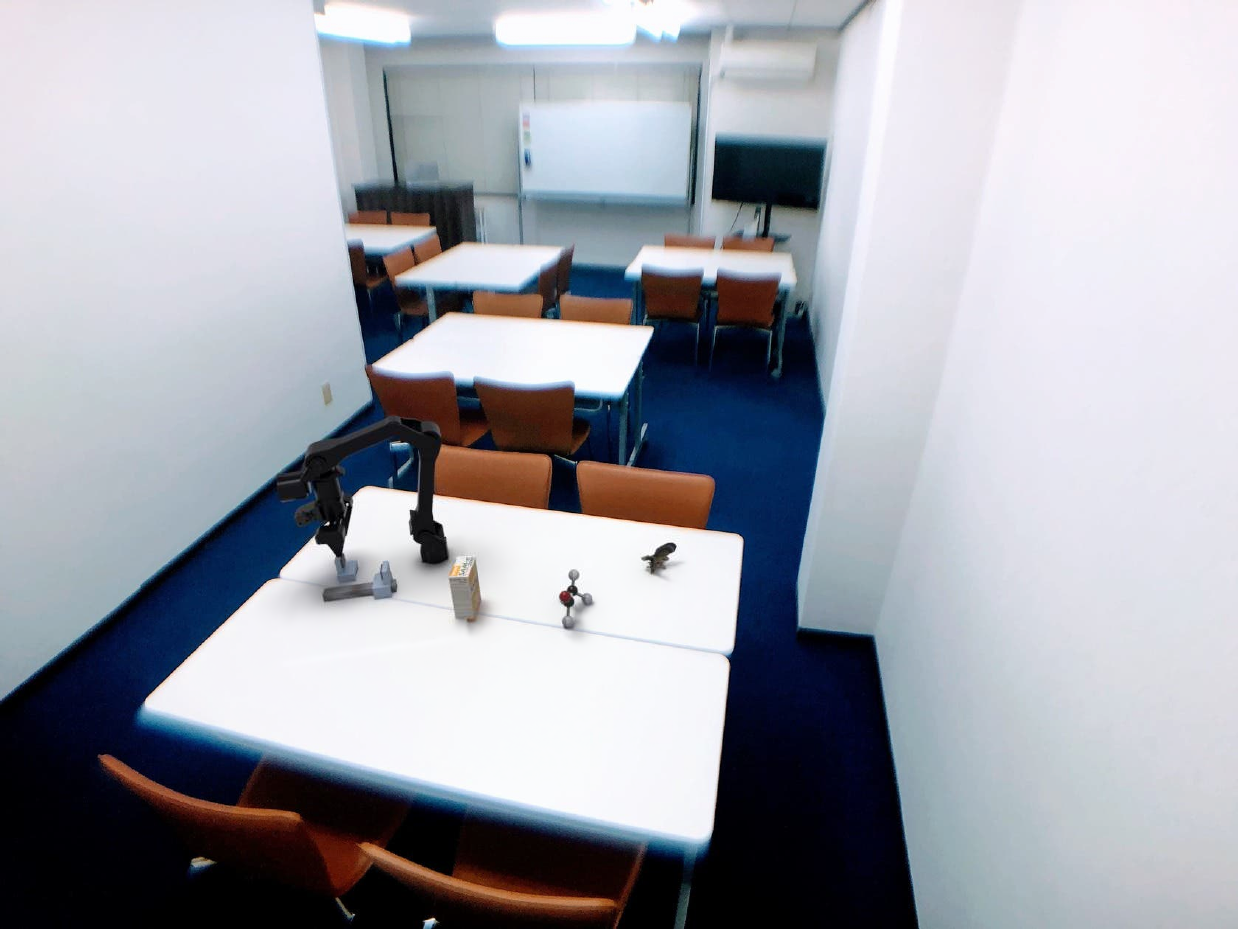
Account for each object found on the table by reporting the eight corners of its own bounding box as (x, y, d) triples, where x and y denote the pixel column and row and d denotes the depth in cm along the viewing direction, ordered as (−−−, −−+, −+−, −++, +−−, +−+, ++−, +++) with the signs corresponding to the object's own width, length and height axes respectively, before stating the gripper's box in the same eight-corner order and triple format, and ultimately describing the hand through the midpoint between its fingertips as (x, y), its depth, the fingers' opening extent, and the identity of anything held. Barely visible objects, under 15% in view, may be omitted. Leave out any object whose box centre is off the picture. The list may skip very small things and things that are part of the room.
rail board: (400, 579, 177) (398, 569, 175) (398, 601, 169) (396, 592, 168) (327, 589, 174) (324, 579, 172) (321, 612, 166) (318, 602, 165)
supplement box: (475, 621, 162) (468, 577, 156) (455, 621, 162) (447, 577, 156) (482, 598, 170) (476, 555, 163) (462, 598, 170) (456, 555, 163)
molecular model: (593, 599, 169) (591, 564, 164) (583, 633, 158) (582, 597, 153) (560, 596, 170) (558, 562, 165) (549, 630, 160) (546, 594, 154)
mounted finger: (393, 581, 174) (388, 558, 171) (391, 596, 169) (386, 573, 166) (377, 583, 174) (371, 560, 170) (374, 599, 169) (369, 575, 165)
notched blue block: (359, 569, 181) (353, 547, 177) (356, 584, 175) (350, 561, 172) (343, 572, 180) (337, 549, 176) (339, 586, 175) (333, 563, 171)
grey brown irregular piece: (671, 576, 174) (683, 552, 181) (655, 556, 172) (668, 532, 178) (649, 581, 179) (661, 557, 186) (633, 561, 177) (646, 538, 183)
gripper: (300, 478, 172) (314, 530, 180) (284, 518, 156) (301, 573, 164) (346, 473, 174) (359, 524, 181) (335, 512, 158) (350, 566, 165)
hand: (342, 546), depth 173 cm, fingers open, 9 cm apart
